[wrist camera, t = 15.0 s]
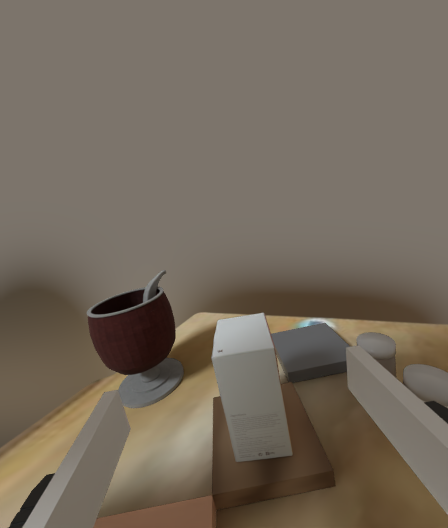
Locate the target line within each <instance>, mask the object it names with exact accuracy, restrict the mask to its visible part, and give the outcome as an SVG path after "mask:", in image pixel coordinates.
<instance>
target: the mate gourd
mask: <svg viewBox="0 0 448 528" xmlns="http://www.w3.org/2000/svg"><path fill="white" fill-rule="evenodd" d="M165 273H166V271H165V270H163V271H161V272H160V273H159V274H157V275H156V276H155V277H154V278H153V279H152V280H151V281H150V282H149V283H148V285H147V287H145V288H139V289H135V290H131V291H127V292H124V293H121V294H118V295H115V296H112V297H110V298H108V299H105V300H103V301H101V302H99V303H97V304H96V305H94V306H92V307H91V308H90V309H89V310H88V311H87V315H88V324H89V330H90V336H91V339H92V341H93V344H94V347H95V349H96V351H97V353H98V355H99V356H100V358H101V360H102V361H103V363H104V364H105V365H106V366H107V367H108V368H109V369H111V370H113V371H116V372H118V373H121V374H124V375H128V376H127V377H126V378H125V379H124V380H123V382H122V383H121V385H120V387H119V390H118V392H119V395H120V398H121V401H122V404H123V405H124V406H126V407H128V408H141V407H145V406H149V405H151V404H154V403H156V402H158V401H160V400H162V399H163V398H165V397H166V396H168V395H169V394H170V393H171V392H172V391H173V390H175V388H176V387H177V386H178V385H179V383H180V382H181V380H182V377H183V373H184V370H183V366H182V364H181V362H180V361H178V360H176V359H173V358H166V357H167V356H168V355H169V353H170V351H171V348H172V346H173V344H174V341H175V322H174V317H173V313H172V309H171V306H170V303H169V301H168V299H167V297H166V295H165V293H164V291H163V288H161V287H157V286H158V283H159V280H160V279H161V277H162V276H163V275H164V274H165Z"/></svg>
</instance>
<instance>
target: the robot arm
mask: <svg viewBox="0 0 448 528" xmlns="http://www.w3.org/2000/svg"><path fill="white" fill-rule="evenodd" d="M346 360H347V379H348V389H349V390H350V391H351V393H352V394H353V395H354V396H355V398H356V399H357V400H358V402H359V403H360V404H361V405H362V407H363V408H364V409H365V410H366V412H367V413H368V414H369V416H370V417H371V418H372V419H373V421H374V422H375V423H376V424H377V426H378V427H379V428H380V430H381V431H382V432H383V433H384V435H385V436H386V437H387V438H388V440H389V441H390V442H391V444H392V445H393V446H394V447H395V449H396V450H397V451H398V452H399V454H400V455H401V456H402V458H403V459H404V460H405V461H406V463H407V464H408V465H409V466H410V468H411V469H412V470H413V472H414V473H415V474H416V475H417V477H418V478H419V479H420V480H421V482H422V483H423V484H424V486H425V487H426V488H427V489H428V491H429V492H430V493H431V494H432V496H433V497H434V498H435V500H436V501H437V502H438V503H439V505H440V506H441V507H442V508H443V510H444V511H445V512H446V514H447V515H448V408H447V407H445V406H443V405H441V404H439V403H437V402H436V401H429V402H422V401H421V400H420V399H419V398H418V397H417V396H416V395H415V394H413V393H412V392H411V391H410V390H409V389H408V388H407V387H405V386H404V385H403V384H402V383H401V382H400V381H399V380H398V379H396V378H395V377H394V376H393V375H392V374H391V373H390V372H389V371H387V370H386V369H385V368H384V367H383V366H382V365H381V364H380V363H378V362H377V361H376V360H375V359H374V358H373V357H372V356H371V355H369V354H368V353H367V352H366V351H365V350H364V349H363V348H362V347H360V346H359V345H358V346H352V347H347V348H346ZM129 432H130V425H129V422H128V419H127V416H126V413H125V410H124V407H123V404H122V401H121V398H120V395H119V392H118V390H114V391H109V392H104V394H103V395H102V397H101V399H100V400H99V402H98V404H97V405H96V407H95V408H94V410H93V412H92V413H91V415H90V417H89V418H88V420H87V422H86V423H85V425H84V427H83V428H82V430H81V432H80V433H79V435H78V437H77V438H76V440H75V442H74V443H73V445H72V446H71V448H70V450H69V451H68V453H67V455H66V456H65V458H64V460H63V461H62V463H61V465H60V466H59V468H58V470H57V471H56V473H54V474H49V475H46V476H45V477H44V478H43V479H42V480H41V481H40V483H39V484H38V485H37V486H36V487H35V488H34V489H33V490H32V491H31V493H30V495H29V496H28V498H27V499H26V501H25V502H24V504H23V505H22V507H21V508H20V512H18V513H17V514H16V516H15V518H14V519H13V521H12V522H11V525H10V527H9V528H93V527H94V524H95V521H96V519H97V516H98V514H99V511H100V508H101V506H102V503H103V500H104V498H105V495H106V492H107V490H108V487H109V485H110V482H111V479H112V477H113V474H114V471H115V469H116V466H117V463H118V461H119V458H120V455H121V453H122V450H123V448H124V445H125V442H126V440H127V437H128V434H129Z"/></svg>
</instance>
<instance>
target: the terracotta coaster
mask: <svg viewBox="0 0 448 528" xmlns="http://www.w3.org/2000/svg"><path fill="white" fill-rule="evenodd" d="M93 528H216V507H215V503H214V500H213V496H212V495H209V496H204V497H199V498H195V499H190V500H185V501H180V502H175V503H170V504H165V505H160V506H155V507H150V508H145V509H140V510H135V511H130V512H125V513H120V514H116V515H111V516H106V517H101V518H97V519H96V521H95V524H94V527H93Z"/></svg>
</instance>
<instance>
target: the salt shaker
mask: <svg viewBox="0 0 448 528" xmlns="http://www.w3.org/2000/svg"><path fill="white" fill-rule="evenodd" d="M403 384H404V386H405V387H407V388H408V389H409V390H410V391H411V392H412V393H413V394H415V395H416V396H417V397H418V398H419V399H420V400H421V401H422V402H429V401H436V402H437V403H439V404H441V405H443V406H445V407H447V408H448V373H447V372H445V371H443V370H441V369H439V368H436V367H433V366H429V365H423V364H412V365H408V366H406V367H405V368H404V371H403Z"/></svg>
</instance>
